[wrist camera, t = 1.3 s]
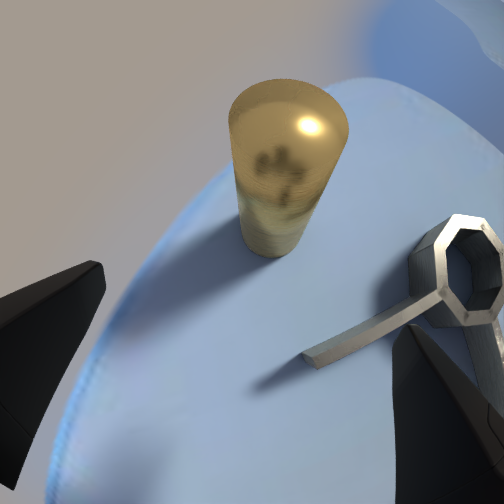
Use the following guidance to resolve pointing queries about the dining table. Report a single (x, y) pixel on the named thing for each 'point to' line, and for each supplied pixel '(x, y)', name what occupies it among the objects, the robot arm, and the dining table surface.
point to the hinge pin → (282, 159)
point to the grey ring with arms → (444, 303)
